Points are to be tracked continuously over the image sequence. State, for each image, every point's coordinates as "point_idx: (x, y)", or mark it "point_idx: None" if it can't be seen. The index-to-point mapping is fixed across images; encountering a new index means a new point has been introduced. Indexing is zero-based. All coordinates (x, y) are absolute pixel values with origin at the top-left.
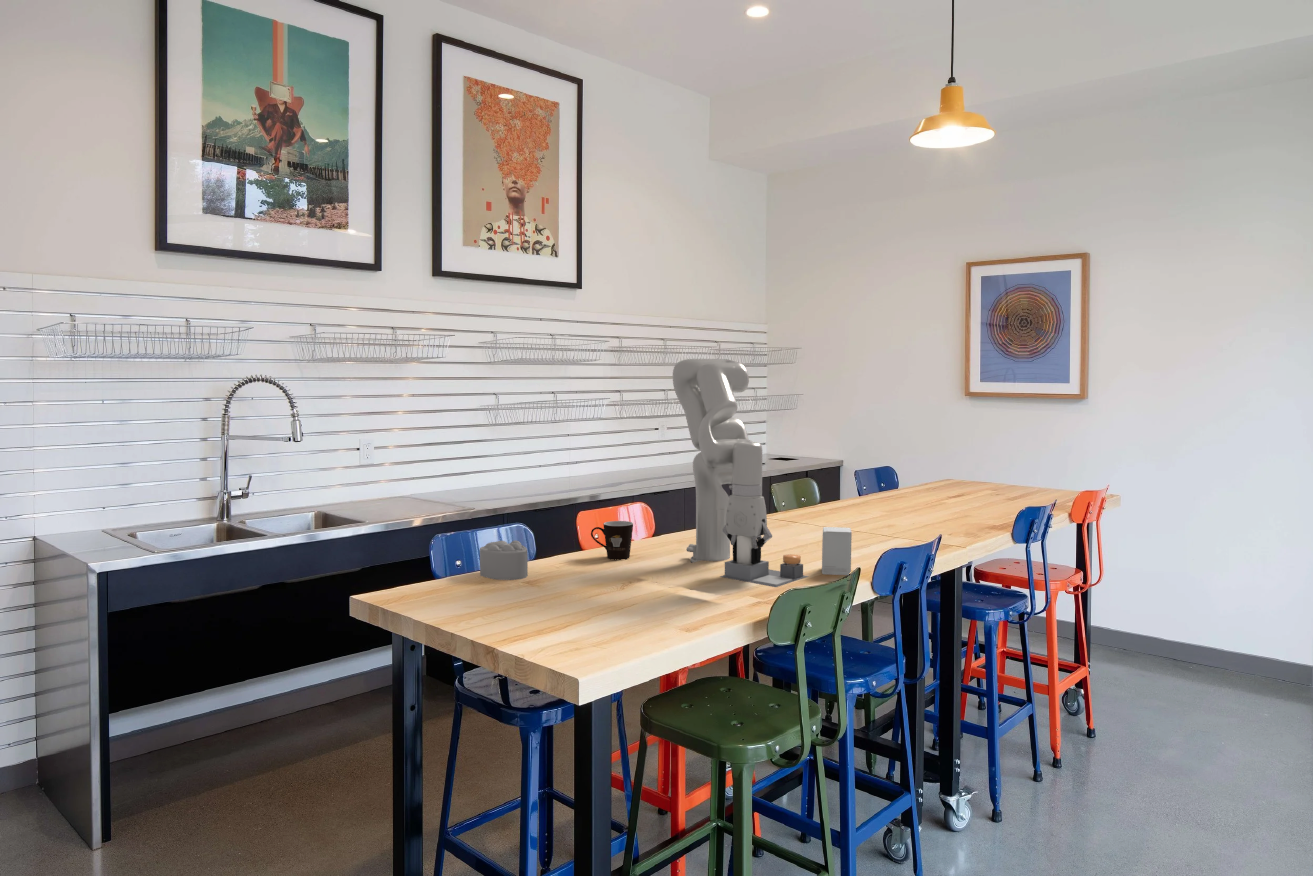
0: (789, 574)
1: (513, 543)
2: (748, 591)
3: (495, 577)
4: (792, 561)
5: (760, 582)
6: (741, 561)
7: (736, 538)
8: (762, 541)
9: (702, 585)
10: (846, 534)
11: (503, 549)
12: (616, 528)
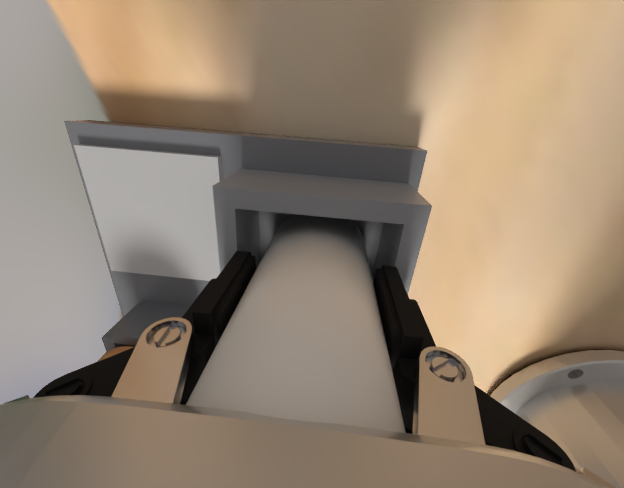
0: (150, 310)
1: None
2: (199, 68)
3: None
4: (101, 359)
5: (171, 152)
6: (312, 239)
7: (414, 420)
8: (54, 387)
9: (481, 15)
10: None
11: None
12: None
